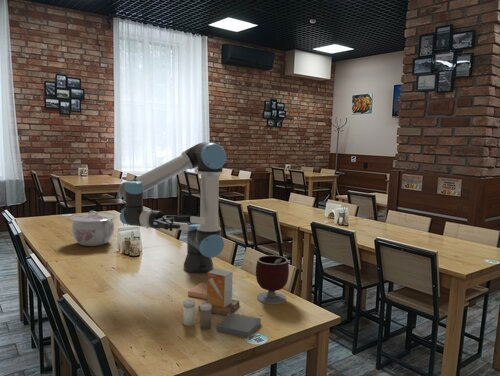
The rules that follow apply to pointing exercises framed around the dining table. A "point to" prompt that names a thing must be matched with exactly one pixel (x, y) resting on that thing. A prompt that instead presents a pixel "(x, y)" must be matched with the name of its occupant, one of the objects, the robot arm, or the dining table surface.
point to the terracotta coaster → (199, 291)
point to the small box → (219, 287)
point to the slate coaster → (239, 325)
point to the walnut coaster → (226, 310)
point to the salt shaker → (188, 312)
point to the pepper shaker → (205, 316)
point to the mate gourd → (272, 278)
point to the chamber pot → (92, 228)
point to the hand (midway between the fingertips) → (196, 223)
